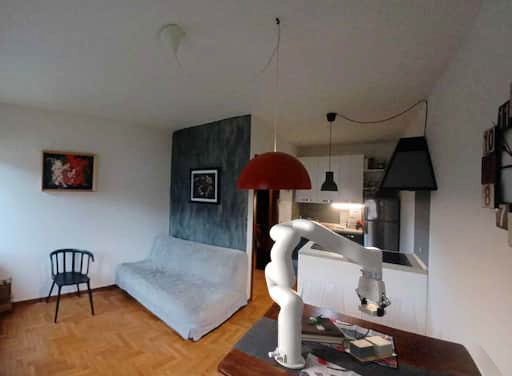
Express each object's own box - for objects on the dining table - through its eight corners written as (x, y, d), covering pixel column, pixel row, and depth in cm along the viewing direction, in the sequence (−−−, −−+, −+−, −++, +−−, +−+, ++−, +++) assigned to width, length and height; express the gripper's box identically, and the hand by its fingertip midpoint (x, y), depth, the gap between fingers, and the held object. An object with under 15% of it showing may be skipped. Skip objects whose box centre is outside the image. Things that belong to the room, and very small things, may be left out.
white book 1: (372, 316, 117) (372, 311, 117) (358, 310, 124) (358, 304, 124) (386, 314, 119) (386, 309, 119) (371, 308, 126) (371, 303, 126)
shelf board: (362, 365, 114) (362, 361, 114) (344, 352, 123) (344, 349, 123) (396, 358, 119) (396, 355, 119) (376, 346, 128) (376, 343, 128)
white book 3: (379, 356, 118) (379, 351, 118) (364, 347, 125) (364, 342, 125) (392, 353, 120) (392, 348, 120) (377, 345, 127) (377, 340, 127)
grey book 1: (360, 353, 117) (360, 347, 117) (349, 346, 121) (349, 341, 121) (373, 350, 119) (373, 345, 119) (363, 344, 123) (363, 339, 123)
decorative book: (275, 311, 149) (332, 315, 144) (275, 324, 149) (332, 329, 144) (285, 328, 130) (351, 334, 125) (285, 344, 130) (351, 350, 125)
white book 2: (379, 351, 118) (379, 345, 118) (364, 342, 125) (364, 337, 125) (392, 348, 120) (392, 343, 120) (377, 340, 127) (377, 335, 127)
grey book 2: (359, 358, 117) (360, 353, 117) (349, 351, 121) (349, 346, 121) (373, 355, 119) (373, 350, 119) (363, 349, 123) (363, 344, 123)
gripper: (348, 269, 129) (348, 305, 129) (385, 281, 112) (385, 322, 112) (360, 268, 131) (360, 304, 131) (398, 280, 114) (398, 320, 114)
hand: (372, 312), depth 122 cm, fingers closed on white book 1, 6 cm apart
